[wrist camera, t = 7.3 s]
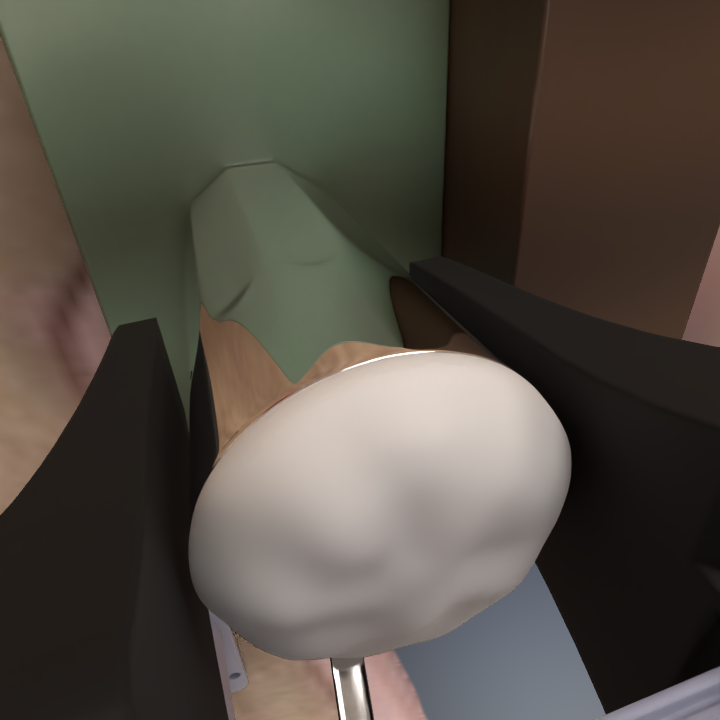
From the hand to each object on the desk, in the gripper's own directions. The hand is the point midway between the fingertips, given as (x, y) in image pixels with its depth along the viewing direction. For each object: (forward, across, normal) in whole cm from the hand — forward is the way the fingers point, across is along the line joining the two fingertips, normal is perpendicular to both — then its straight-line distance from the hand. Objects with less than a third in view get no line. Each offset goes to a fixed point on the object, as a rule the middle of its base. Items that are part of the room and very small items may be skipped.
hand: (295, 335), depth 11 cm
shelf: (+7, -3, 0) cm, 8 cm away
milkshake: (+3, 0, 0) cm, 4 cm away
